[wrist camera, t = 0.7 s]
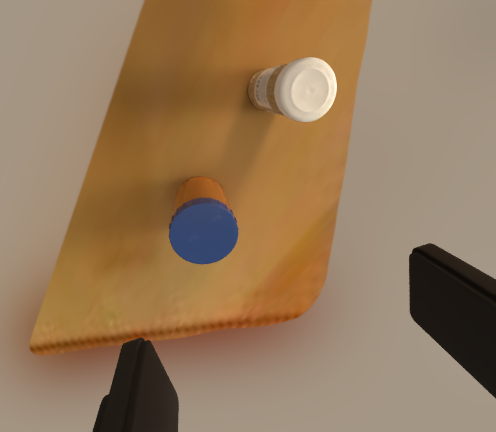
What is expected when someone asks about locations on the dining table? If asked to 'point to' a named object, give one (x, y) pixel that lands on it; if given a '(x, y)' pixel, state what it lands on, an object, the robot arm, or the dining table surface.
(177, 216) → the lid
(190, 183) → the jar
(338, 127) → the dining table surface
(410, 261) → the robot arm
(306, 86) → the sprinkles bottle
